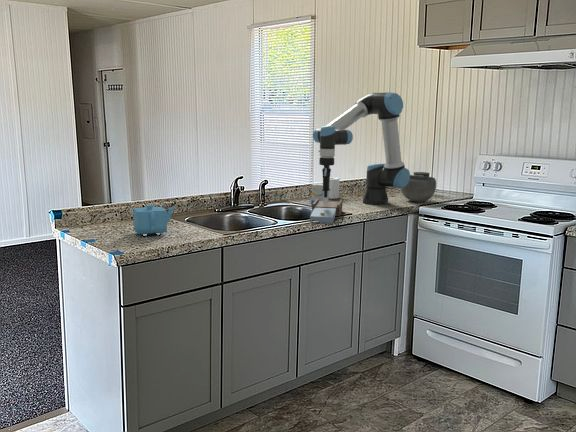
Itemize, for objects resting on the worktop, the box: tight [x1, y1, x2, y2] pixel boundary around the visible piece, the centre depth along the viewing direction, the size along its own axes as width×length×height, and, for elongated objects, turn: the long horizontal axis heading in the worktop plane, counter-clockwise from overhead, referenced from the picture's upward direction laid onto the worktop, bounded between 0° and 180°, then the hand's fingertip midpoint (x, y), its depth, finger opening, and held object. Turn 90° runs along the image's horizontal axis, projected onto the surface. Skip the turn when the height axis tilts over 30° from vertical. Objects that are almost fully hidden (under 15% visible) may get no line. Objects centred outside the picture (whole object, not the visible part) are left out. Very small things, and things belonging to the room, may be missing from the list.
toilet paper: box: [328, 176, 341, 200], centre depth 351 cm, size 10×10×12 cm
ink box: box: [310, 182, 323, 206], centre depth 327 cm, size 9×8×12 cm
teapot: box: [132, 204, 178, 235], centre depth 244 cm, size 18×16×13 cm
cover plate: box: [309, 207, 336, 224], centre depth 281 cm, size 11×16×4 cm
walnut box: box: [311, 199, 343, 216], centre depth 298 cm, size 14×18×6 cm
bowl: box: [400, 174, 437, 203], centre depth 341 cm, size 20×20×15 cm
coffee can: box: [412, 171, 430, 177], centre depth 370 cm, size 10×10×14 cm
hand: (325, 203), depth 288 cm, fingers closed
